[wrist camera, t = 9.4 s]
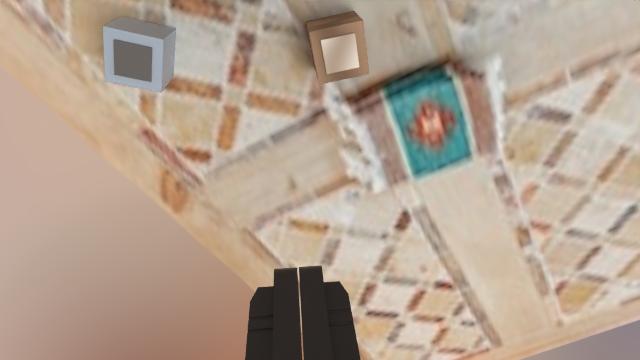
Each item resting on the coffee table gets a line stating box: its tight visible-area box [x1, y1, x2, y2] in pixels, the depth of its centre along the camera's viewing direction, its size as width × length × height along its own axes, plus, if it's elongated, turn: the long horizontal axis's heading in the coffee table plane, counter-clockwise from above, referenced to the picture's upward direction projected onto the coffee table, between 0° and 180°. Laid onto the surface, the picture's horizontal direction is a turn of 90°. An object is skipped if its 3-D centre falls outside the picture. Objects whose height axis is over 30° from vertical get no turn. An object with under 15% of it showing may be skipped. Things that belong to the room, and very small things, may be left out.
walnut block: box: [306, 11, 369, 84], centre depth 38 cm, size 5×5×5 cm
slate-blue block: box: [103, 16, 176, 92], centre depth 37 cm, size 5×5×5 cm
